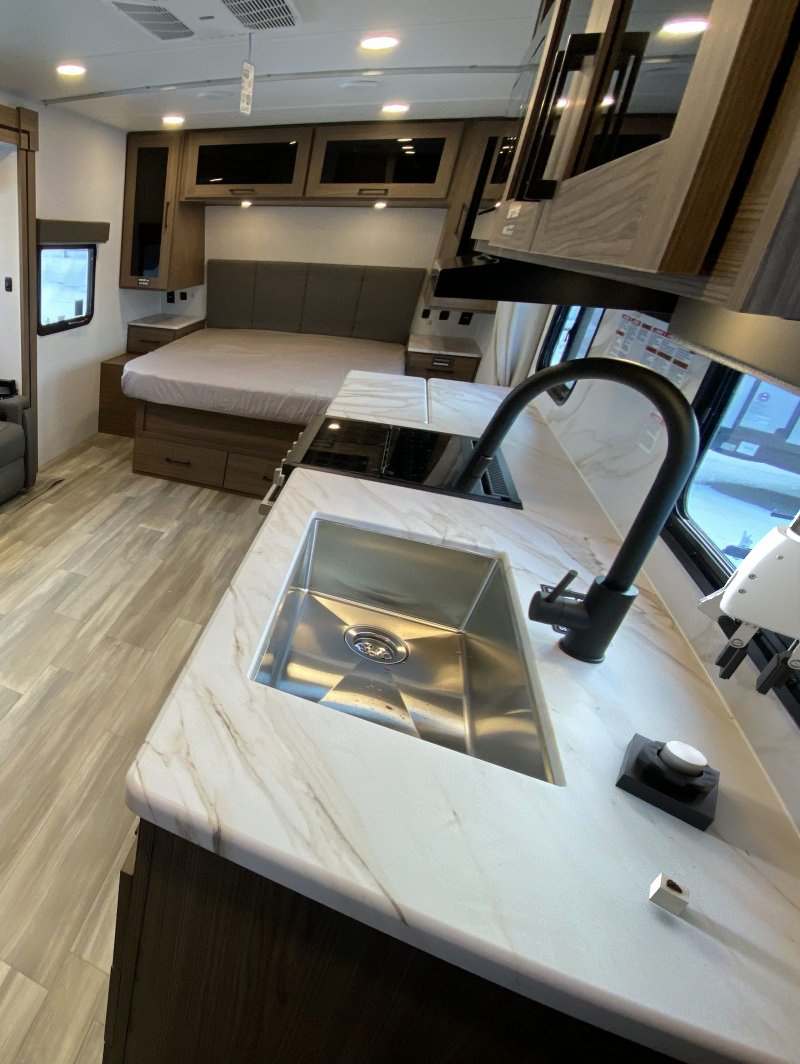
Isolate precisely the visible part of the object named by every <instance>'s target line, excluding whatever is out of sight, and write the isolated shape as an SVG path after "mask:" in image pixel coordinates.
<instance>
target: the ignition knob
mask: <svg viewBox="0 0 800 1064" xmlns="http://www.w3.org/2000/svg"><path fill="white" fill-rule="evenodd" d="M666 743H667V744H666V745H665V747H664V748H663V750H662V751H661V752H660V754H659V759H660V760H661V762H663V763H664V764H665V765H667V766H668V767H669V768H671V769H673V770H675V771H677V772H679V773H681V774H683V775H686V776H690V777H697V776H698V775H699V774H700V773H701V771H702V770H703V769H704V768H705V766H706V765H707V764H708V762H709V761H708V759H707V757H706V756H705V755H704V754H703V753H702V752H700V751H699V749H696V748H695V747H693V746H690V745H689V744H687V743H684V742H680V741H675V740H670V741H668V742H666ZM708 765H709V764H708Z"/></svg>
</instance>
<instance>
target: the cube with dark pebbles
mask: <svg viewBox="0 0 800 1064" xmlns="http://www.w3.org/2000/svg"><path fill="white" fill-rule="evenodd" d="M690 890H691V887H688V886H687V885H685V884H683V883H681V882H679V881H678V880H675V879H674V878H672V877H670V876H668V875H667V874H665V873H663V872H661V873H660V874H658V876H657V877H656V878H655V879H654V881H653V882H652V883H651V884H650V889H649V897H648V901H650V902H652V903H653V904H655V905H657V906H659V907H660V908H662V909H665V910H666V911H668V912H670V913H671V914H673V915H675V916H677V917H678V916H679V915H680V914H681V913H682V912H683V911H684V910H685V908H686V907H687V906H688V905H689V904H690V894H691V892H690Z"/></svg>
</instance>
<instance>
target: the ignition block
mask: <svg viewBox="0 0 800 1064" xmlns="http://www.w3.org/2000/svg"><path fill="white" fill-rule="evenodd" d="M667 743H668V742H664V741H659V740H653V739H650V738H648V737H645V736H644V735H642V734H639V733H637V732H636V733H634V735H633V736H632V738H631V739H630V741H629V742H628V743H627V747H626V750H625V753H624V756H623V759H622V762H621V765H620V769H619V772H618V775H617V778H616V781H615V785H614V786H615V787H616V788H619V789H620V790H622V791H624V792H626V793H628V794H630V795H631V796H633V797H636V798H637V799H640V800H641V801H643V802H645V803H647V804H649V805H651V806H652V807H655V808H656V809H658V810H661V811H662V812H665V813H666V814H668V815H670V816H672V817H674V818H676V819H678V820H680V821H681V822H683V823H686V824H687V825H689V826H691V827H693V828H695V829H697V830H699V831H700V832H703V833H705V832H706V831H707V829H709V827H710V826H711V825H712V824H713V823H714V821H715V819H716V809H717V803H718V801H717V799H718V794H719V793H718V791H719V785H720V784H719V783H720V775H721V772H720V771H719V770H716V769H714V768H712V767H711V766H710V765H709V764H707V765H706V766H705V768H704V769H703V770H702V771H701V773H700V774H699V775H698V776H697V777H690V776H686V775H683V774H681V773H679V772H677V771H675V770H673V769H671V768H669V767H668V766H667V765H665V764H664V763H663V762H661V760H660V759H659V754H660V752H661V751H662V750H663V748H664V747H665V745H666V744H667Z"/></svg>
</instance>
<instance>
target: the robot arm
mask: <svg viewBox="0 0 800 1064" xmlns="http://www.w3.org/2000/svg"><path fill="white" fill-rule="evenodd" d="M697 609H698V610H699V611H700V612H701V613H703V614H705V615H706V616H707V617H708V618H710V619H711V620H713V621H714V622H716V623H717V625H718V627H719V628H720V629H721V630H722V632H723V634H724V635H725V637H726V638H727V640H728V642H726V644H725V646H724V647H723V649H722V650H721V652H720V653H719V654H718V656H717V657H716V659H715V661H714V665H715V666H717V667H719V674H718V678H720V679H722V680H728V681H729V680H730V679H731V678H732V676H733V674H735V672H736V671H737V669H738V668H739V666H740V665H741V664H742V663H743V661H744V660H745V658H746V657H747V656H748V654H749V647H750V640H752V638H753V636H755V634H756V633H757V631H758V630H759V629H760V628H762V629H765V630H768V631H771V632H773V633H777V634H780V635H783V636H786V637H789V638H792V639H795V640H794V641H793V642H792V644H790V647H789V648H788V649H787V650H783V651H782V652H779V653H775V654H774V655H773V657H772V658H771V660H770V661H769V662H768V664H767V665H766V666H765V668H764V669H763V670H762V671H761V673H759V675H758V676H757V678H756V680H755V681H756V682H755V691H757V693H758V694H760V695H763V696H766V695H767V694H768V693H769V692H770V690H771V689H772V688H775V689H777V690H781V689H782V687H783V686H784V685H785V684H786V682H787V681H788V680H790V677H791V676H792V675H793V674H794V673H795V671H796V670H800V511H799V512H798V513H797V514H796V516H795V518H794V519H793V520H792V522H791V523H790V525H784V524H782V525H776V526H775V527H774V528H772V529H771V530H770V531H769V532H768V533H767V534H766V535H765V536H764V537H763V538H762V539H761V540H760V541H759V542H758V543H757V544H756V545H755V546H754V548H753V549H752V550H751V551H750V552H749V553H748V555H746V557H745V558H744V559H743V560H742V562H741V563H740V564H739V565H738V567H737V568H736V570H735V571H734V572H733V573H732V575H731V576H730V578H728V580H727V582H726V584H725V585H724V587H722V588H720V589H718V590H716V591H715V592H713V593H711V594H709V595H707V596H705V597H703V598H701V599H699V600H698V603H697Z"/></svg>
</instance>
